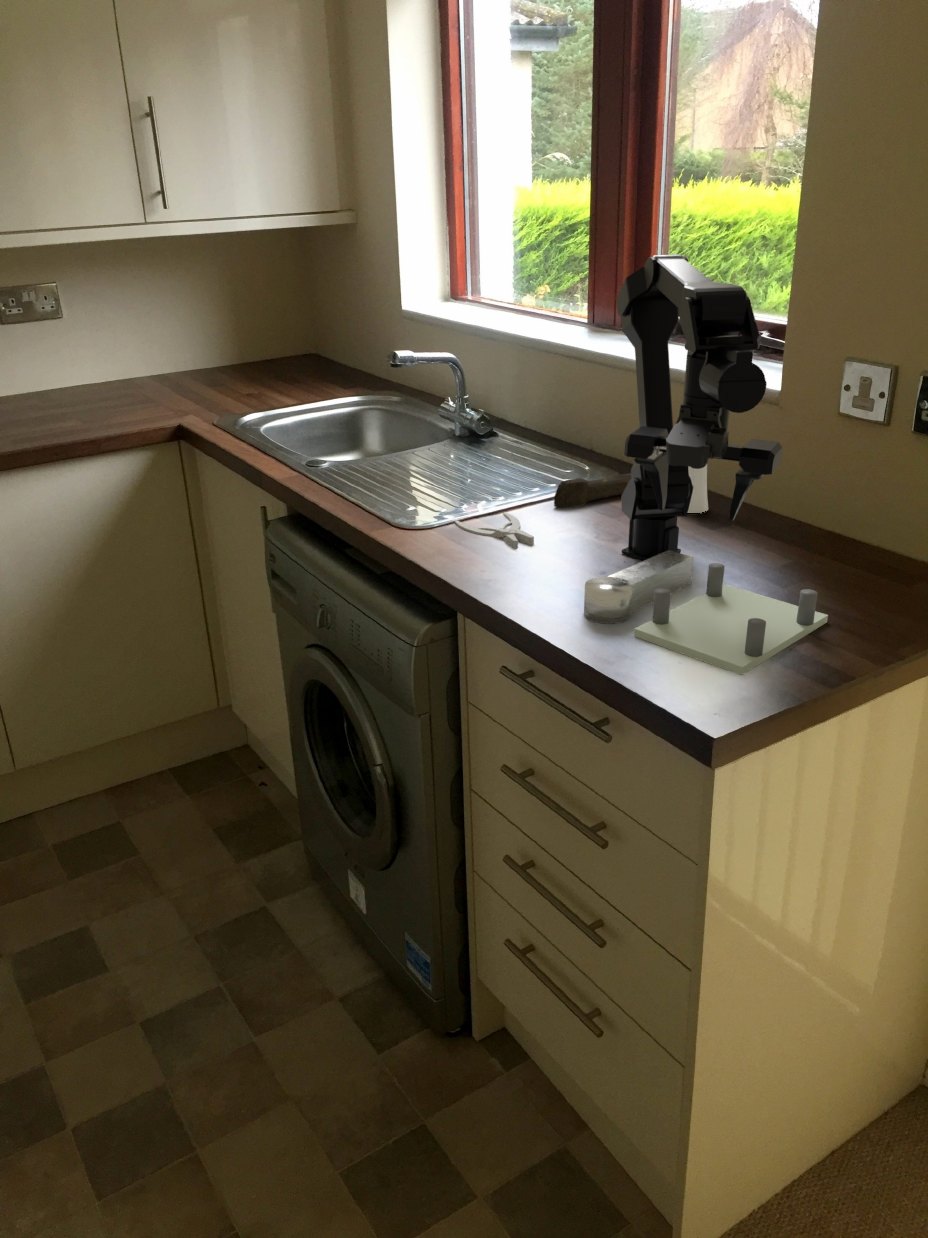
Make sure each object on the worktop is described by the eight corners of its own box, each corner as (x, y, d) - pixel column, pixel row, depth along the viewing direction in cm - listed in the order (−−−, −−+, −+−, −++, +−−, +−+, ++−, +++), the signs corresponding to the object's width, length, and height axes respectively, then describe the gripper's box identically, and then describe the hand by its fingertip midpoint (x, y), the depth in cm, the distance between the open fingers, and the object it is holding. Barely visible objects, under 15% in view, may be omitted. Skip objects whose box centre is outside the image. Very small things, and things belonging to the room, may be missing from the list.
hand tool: (635, 488, 182) (637, 463, 180) (649, 494, 178) (650, 468, 176) (545, 505, 174) (546, 479, 172) (558, 511, 170) (559, 484, 168)
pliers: (507, 507, 168) (552, 533, 156) (507, 516, 169) (552, 543, 156) (453, 515, 164) (495, 543, 152) (453, 525, 165) (495, 553, 153)
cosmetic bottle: (675, 514, 167) (685, 379, 158) (668, 503, 173) (677, 372, 164) (711, 514, 167) (724, 379, 158) (703, 502, 173) (715, 372, 164)
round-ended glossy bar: (574, 614, 131) (575, 585, 129) (660, 574, 143) (662, 548, 141) (611, 627, 127) (612, 598, 125) (697, 586, 139) (699, 558, 137)
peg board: (634, 636, 125) (636, 598, 123) (723, 590, 137) (726, 556, 135) (741, 675, 115) (746, 635, 113) (827, 622, 128) (832, 585, 126)
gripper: (612, 399, 122) (605, 522, 129) (768, 416, 114) (753, 546, 120) (643, 381, 131) (635, 497, 137) (790, 395, 123) (775, 518, 129)
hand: (696, 514), depth 131 cm, fingers open, 9 cm apart
